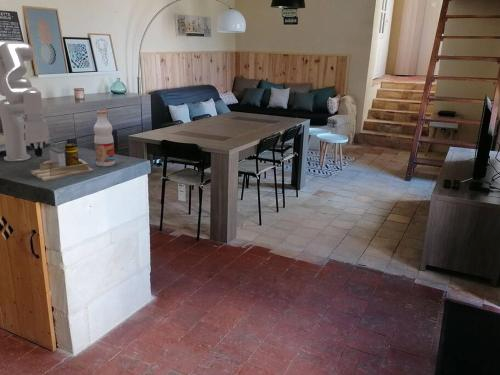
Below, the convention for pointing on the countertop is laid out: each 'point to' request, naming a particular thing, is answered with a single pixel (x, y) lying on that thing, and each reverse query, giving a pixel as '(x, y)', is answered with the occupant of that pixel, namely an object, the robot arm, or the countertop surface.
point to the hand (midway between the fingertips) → (38, 156)
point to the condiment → (71, 155)
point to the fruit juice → (103, 141)
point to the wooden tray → (61, 171)
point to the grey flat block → (57, 158)
